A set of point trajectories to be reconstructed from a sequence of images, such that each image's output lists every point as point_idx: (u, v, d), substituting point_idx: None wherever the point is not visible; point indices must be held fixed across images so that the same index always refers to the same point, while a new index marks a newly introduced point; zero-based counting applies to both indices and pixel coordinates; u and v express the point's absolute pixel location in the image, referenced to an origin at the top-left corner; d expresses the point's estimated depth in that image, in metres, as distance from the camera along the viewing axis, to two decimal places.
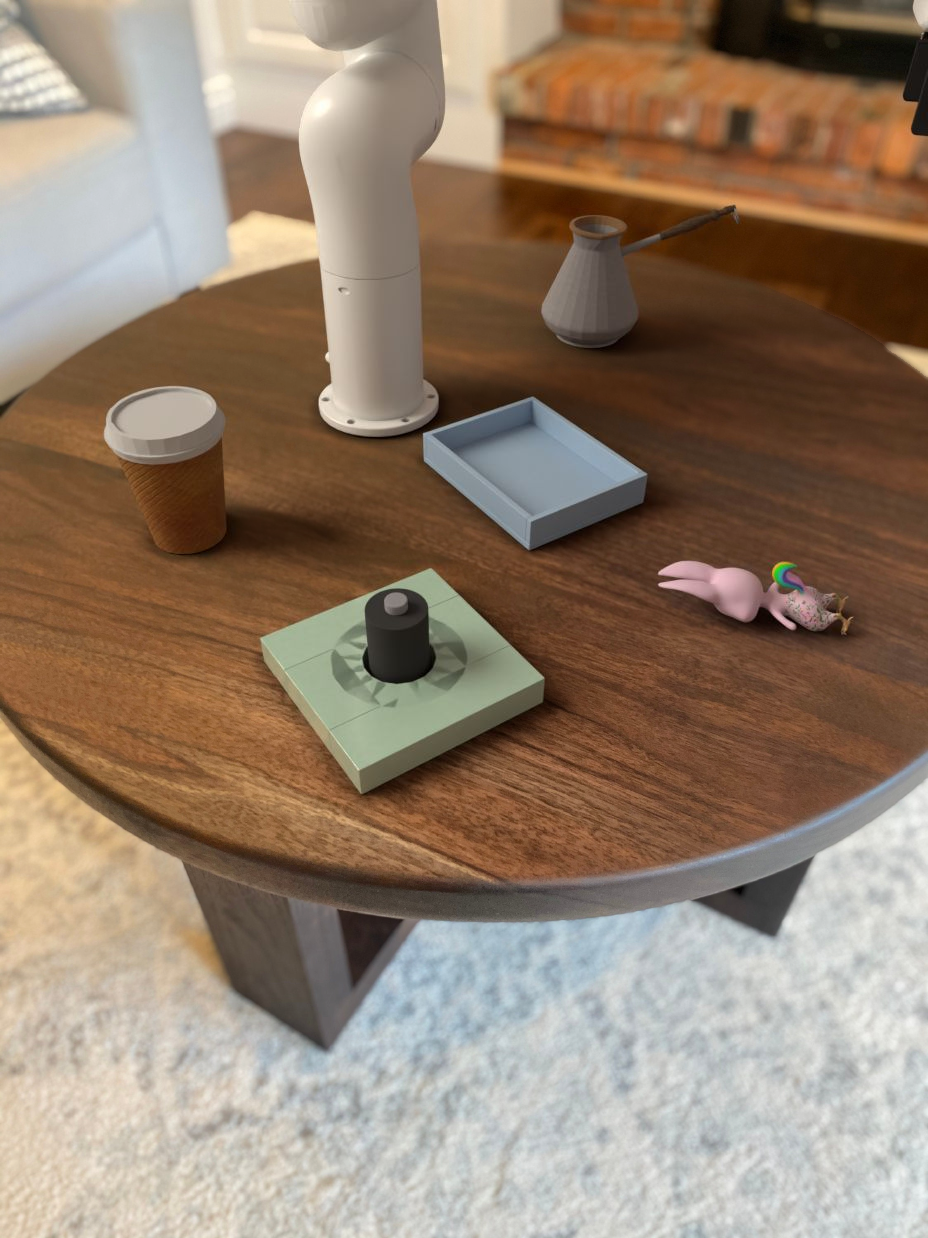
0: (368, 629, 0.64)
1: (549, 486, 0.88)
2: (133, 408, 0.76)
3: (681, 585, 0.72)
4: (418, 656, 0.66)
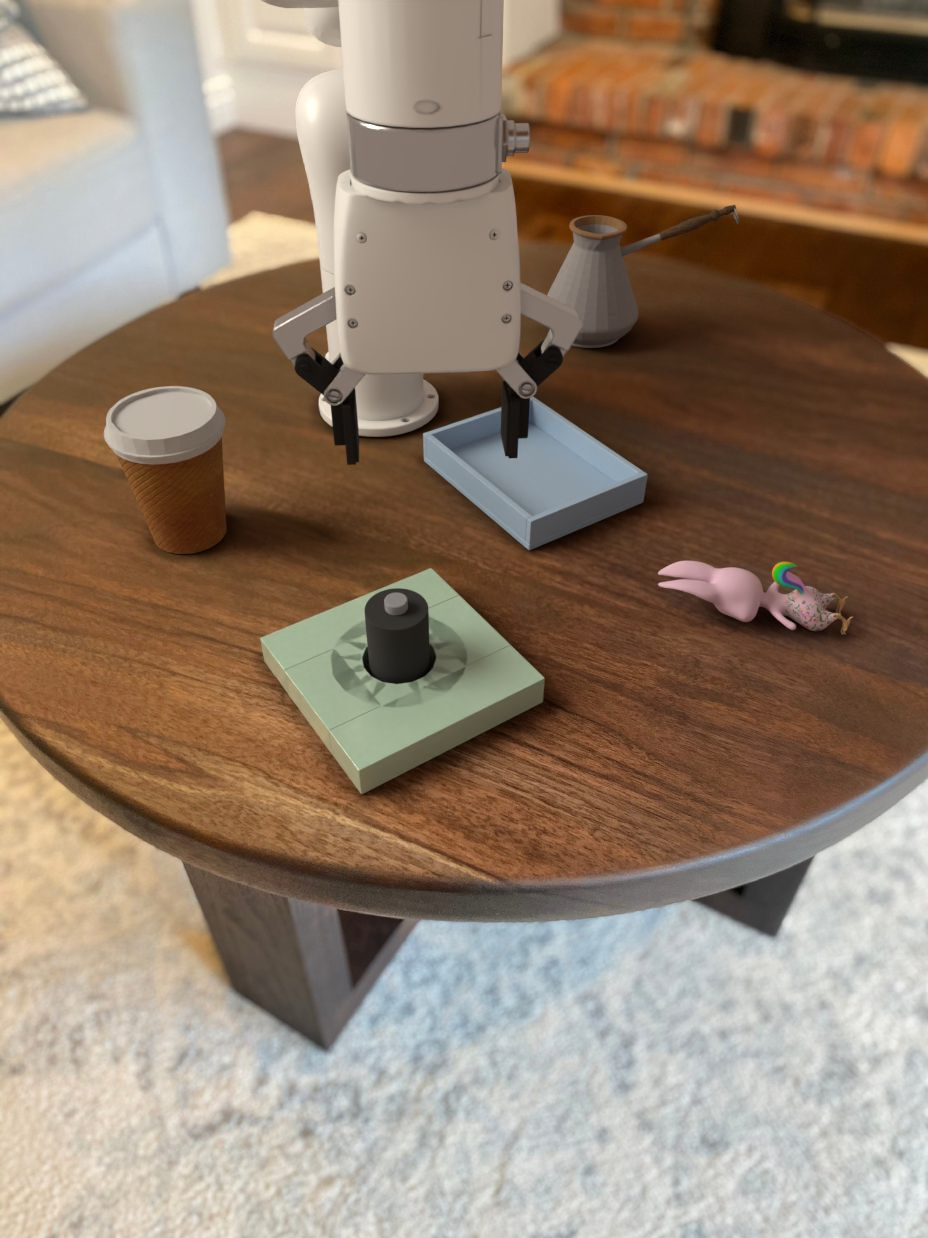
0: (368, 629, 0.64)
1: (549, 486, 0.88)
2: (133, 408, 0.76)
3: (681, 585, 0.72)
4: (418, 656, 0.66)
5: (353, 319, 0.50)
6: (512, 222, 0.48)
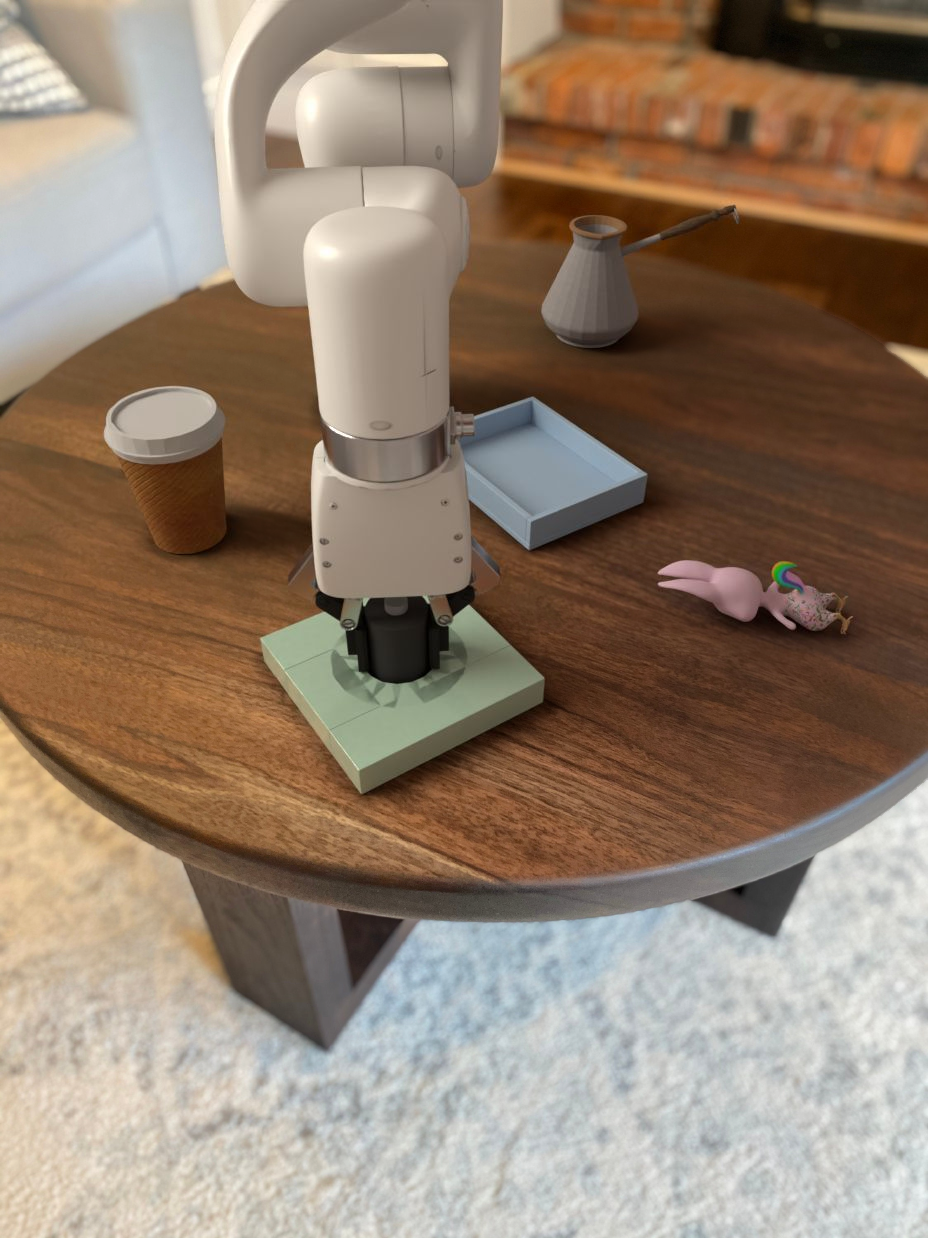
0: (368, 629, 0.64)
1: (549, 486, 0.88)
2: (133, 408, 0.76)
3: (681, 584, 0.72)
4: (418, 657, 0.66)
5: (327, 561, 0.59)
6: (460, 491, 0.56)
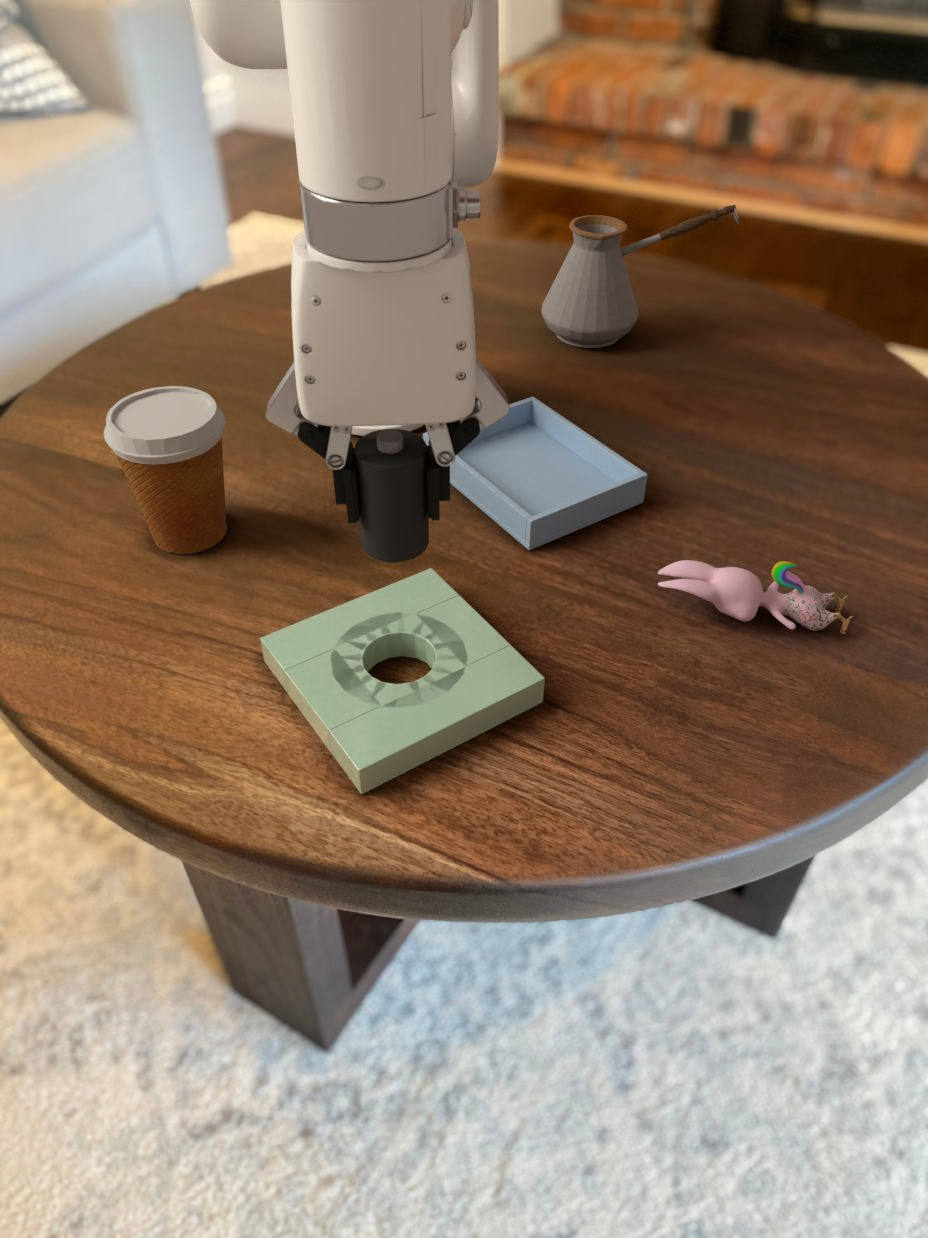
0: (358, 470, 0.57)
1: (549, 486, 0.88)
2: (133, 408, 0.76)
3: (681, 584, 0.72)
4: (415, 504, 0.58)
5: (310, 376, 0.51)
6: (464, 285, 0.49)
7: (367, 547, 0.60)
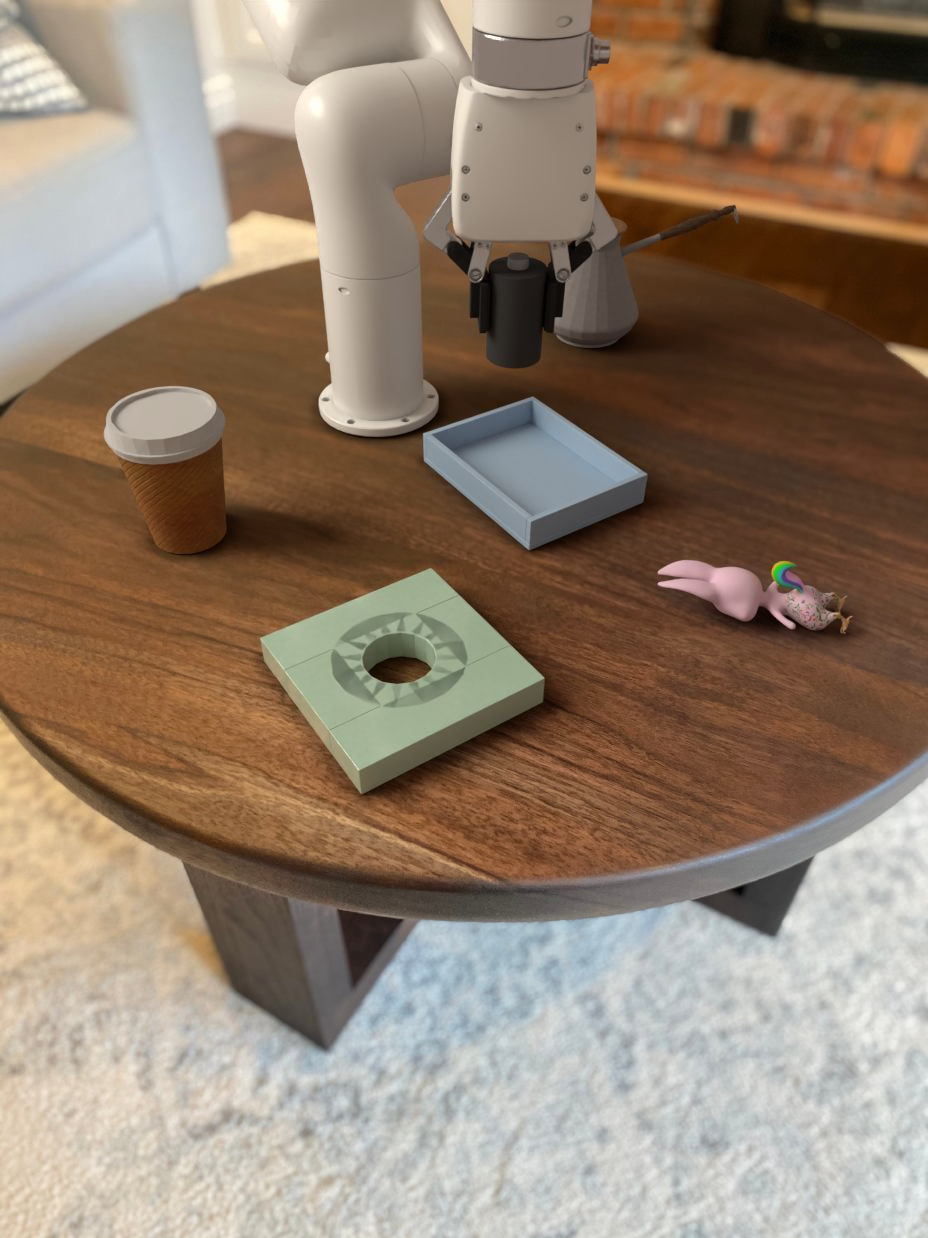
0: (492, 284, 0.70)
1: (549, 486, 0.88)
2: (133, 408, 0.76)
3: (680, 584, 0.73)
4: (536, 315, 0.71)
5: (466, 194, 0.65)
6: (593, 117, 0.62)
7: (492, 356, 0.74)
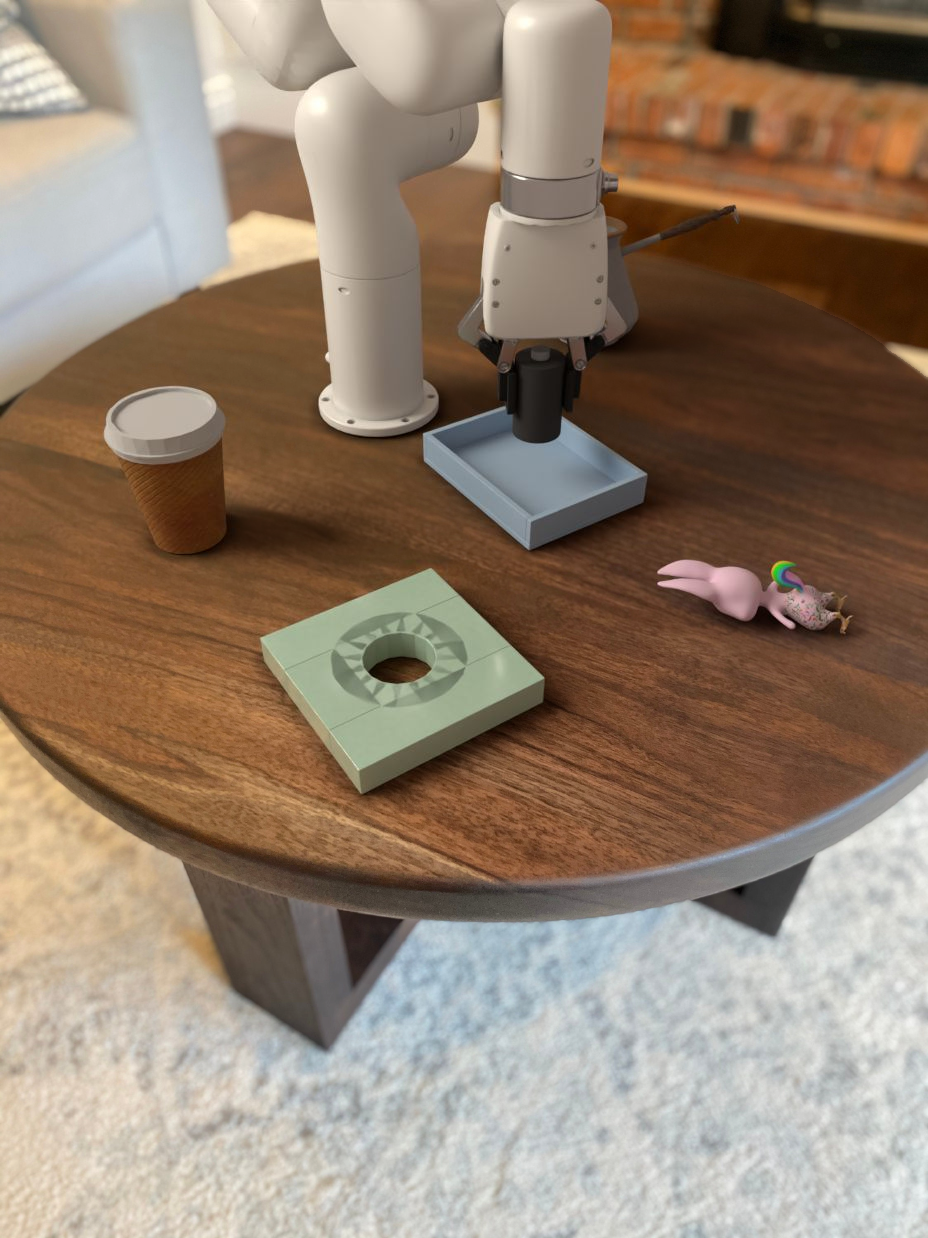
0: (518, 373, 0.81)
1: (549, 486, 0.88)
2: (133, 408, 0.76)
3: (680, 584, 0.73)
4: (557, 398, 0.82)
5: (496, 301, 0.75)
6: (605, 237, 0.73)
7: (519, 433, 0.84)
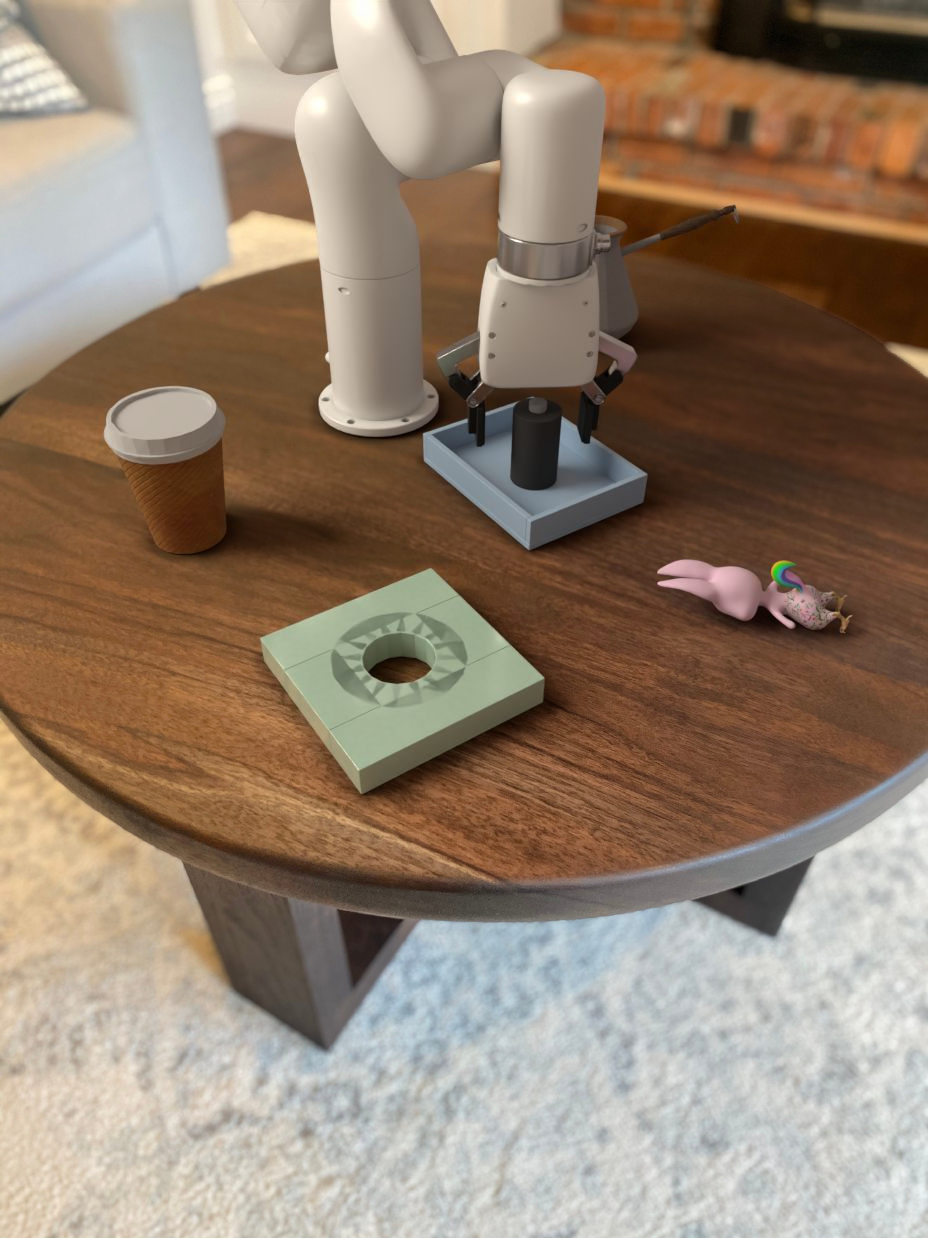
0: (516, 425, 0.84)
1: None
2: (133, 408, 0.76)
3: (680, 584, 0.73)
4: (553, 448, 0.85)
5: (492, 353, 0.78)
6: (597, 294, 0.76)
7: (516, 480, 0.87)
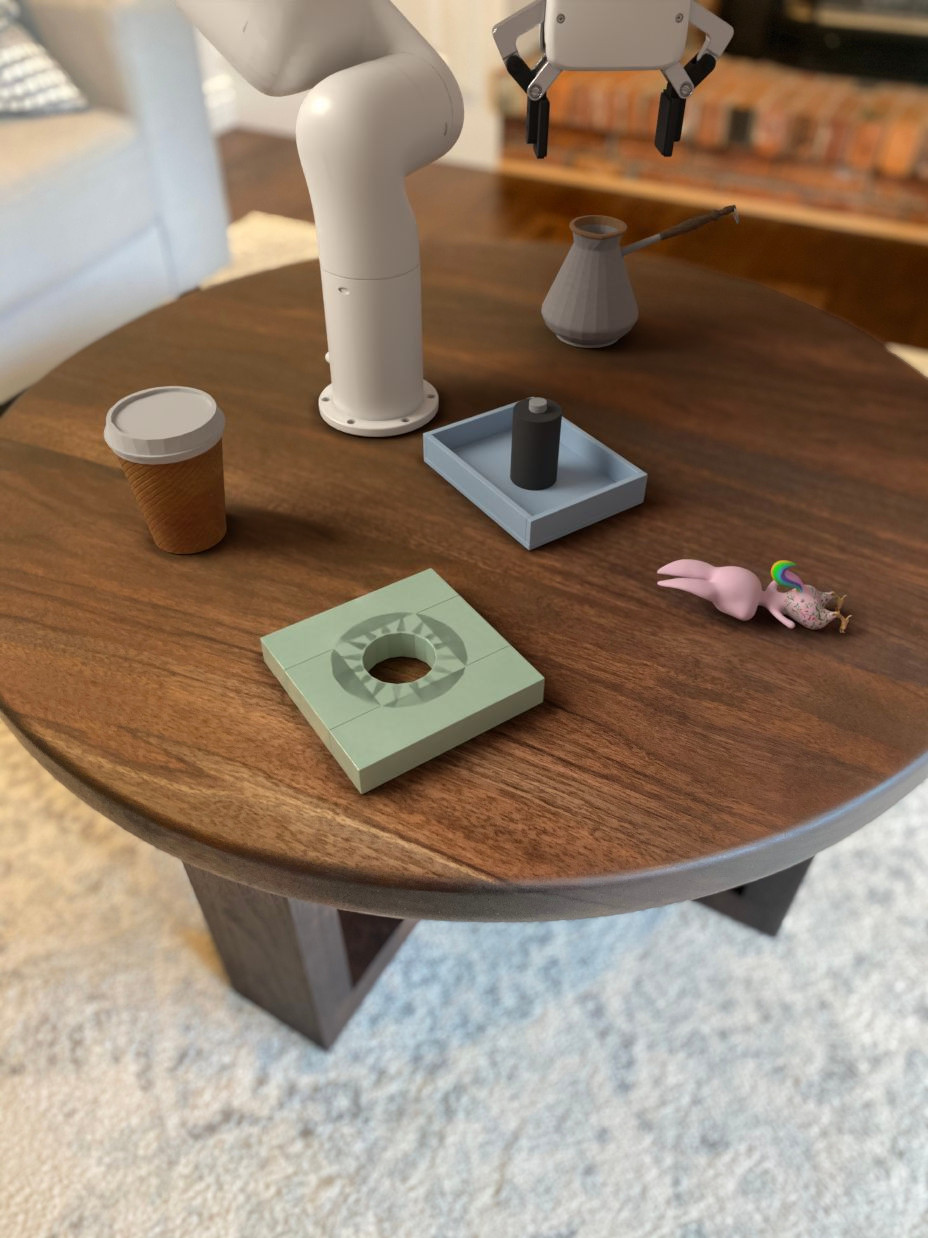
0: (516, 425, 0.84)
1: None
2: (133, 408, 0.76)
3: (680, 583, 0.73)
4: (553, 448, 0.85)
5: (561, 15, 0.65)
6: None
7: (516, 480, 0.87)
